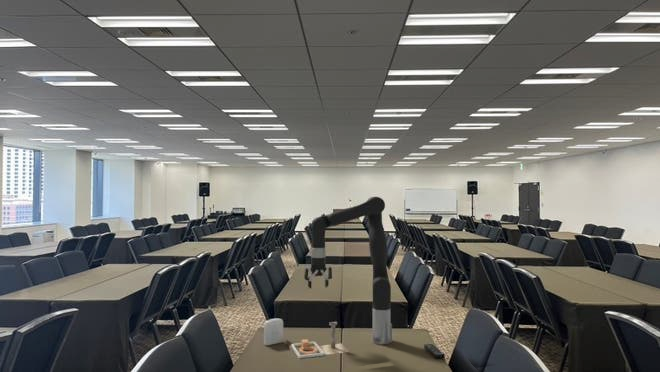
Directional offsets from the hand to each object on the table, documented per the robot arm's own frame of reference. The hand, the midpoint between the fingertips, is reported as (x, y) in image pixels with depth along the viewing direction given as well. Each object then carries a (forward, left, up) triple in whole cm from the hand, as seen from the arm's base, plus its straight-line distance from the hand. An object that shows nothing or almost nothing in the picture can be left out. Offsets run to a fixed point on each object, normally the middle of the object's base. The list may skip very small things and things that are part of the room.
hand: (318, 287), depth 212 cm
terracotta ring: (+9, +13, -28) cm, 32 cm away
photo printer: (+22, -6, -28) cm, 36 cm away
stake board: (-4, +14, -28) cm, 32 cm away
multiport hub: (-49, +30, -29) cm, 65 cm away
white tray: (+9, +13, -28) cm, 32 cm away
